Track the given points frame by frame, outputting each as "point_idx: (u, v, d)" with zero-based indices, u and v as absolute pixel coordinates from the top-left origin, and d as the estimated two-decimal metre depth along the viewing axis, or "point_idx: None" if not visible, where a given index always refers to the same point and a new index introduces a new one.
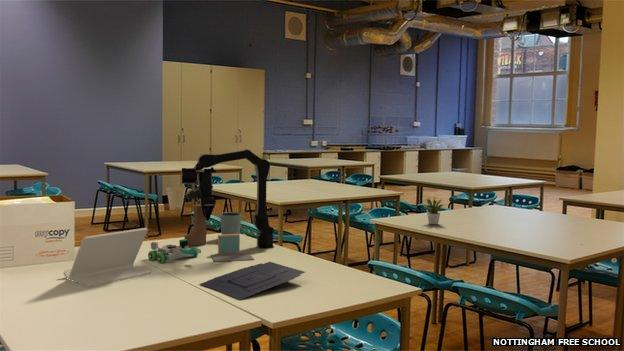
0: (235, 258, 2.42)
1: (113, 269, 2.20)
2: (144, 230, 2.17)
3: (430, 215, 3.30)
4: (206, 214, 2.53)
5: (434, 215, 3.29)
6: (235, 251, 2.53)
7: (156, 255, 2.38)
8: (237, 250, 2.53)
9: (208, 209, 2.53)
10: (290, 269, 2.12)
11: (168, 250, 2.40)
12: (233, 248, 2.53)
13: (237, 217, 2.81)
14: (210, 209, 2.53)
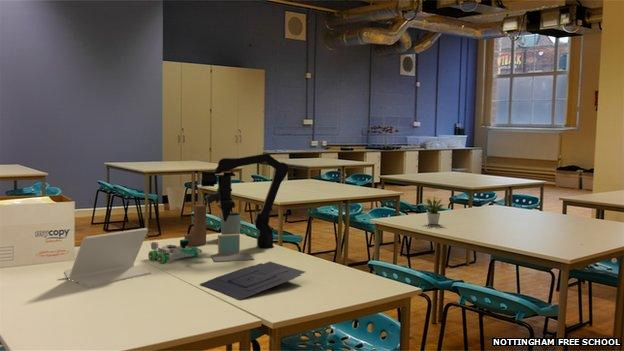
0: (235, 258, 2.42)
1: (113, 269, 2.20)
2: (144, 230, 2.17)
3: (430, 215, 3.30)
4: (224, 215, 2.62)
5: (434, 215, 3.29)
6: (235, 251, 2.53)
7: (156, 255, 2.38)
8: (237, 250, 2.53)
9: (226, 210, 2.61)
10: (290, 269, 2.12)
11: (168, 250, 2.40)
12: (233, 248, 2.53)
13: (237, 217, 2.81)
14: (228, 211, 2.61)
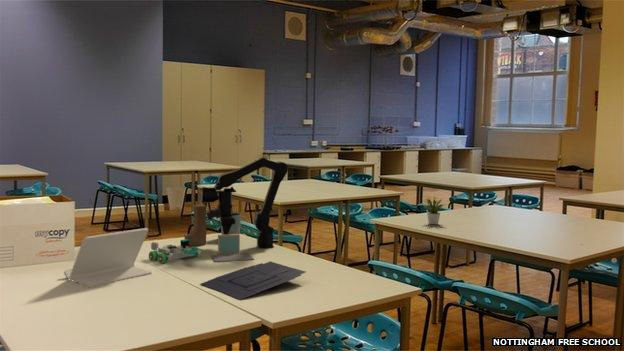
0: (235, 258, 2.42)
1: (114, 269, 2.19)
2: (145, 230, 2.17)
3: (430, 215, 3.30)
4: (224, 231, 2.61)
5: (434, 215, 3.29)
6: (235, 251, 2.53)
7: (157, 255, 2.38)
8: (237, 250, 2.53)
9: (226, 226, 2.61)
10: (291, 269, 2.12)
11: (169, 250, 2.40)
12: (233, 248, 2.53)
13: (237, 217, 2.81)
14: (228, 227, 2.61)
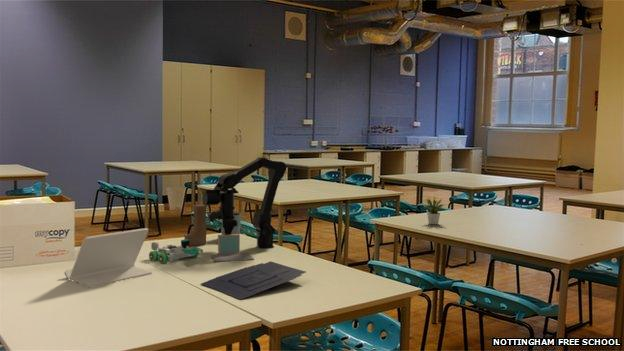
0: (235, 258, 2.42)
1: (114, 269, 2.19)
2: (145, 230, 2.17)
3: (430, 215, 3.30)
4: None
5: (434, 215, 3.29)
6: (235, 251, 2.53)
7: (157, 255, 2.37)
8: (237, 250, 2.53)
9: (228, 229, 2.56)
10: (291, 269, 2.12)
11: (169, 250, 2.40)
12: (233, 248, 2.53)
13: (237, 217, 2.81)
14: (230, 229, 2.55)
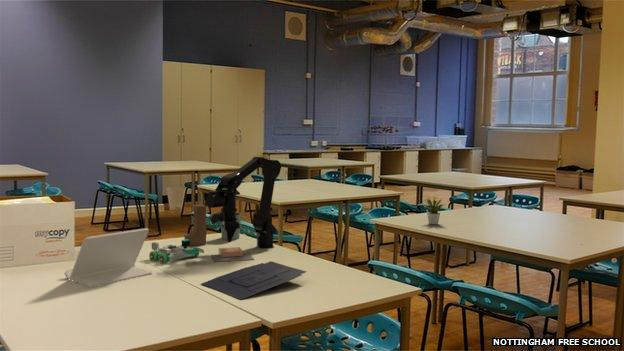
0: (235, 258, 2.42)
1: (114, 269, 2.19)
2: (145, 230, 2.17)
3: (430, 215, 3.30)
4: (228, 236, 2.50)
5: (434, 215, 3.29)
6: None
7: (158, 255, 2.37)
8: None
9: (230, 231, 2.50)
10: (291, 269, 2.12)
11: (169, 250, 2.40)
12: None
13: (237, 217, 2.81)
14: (232, 231, 2.50)
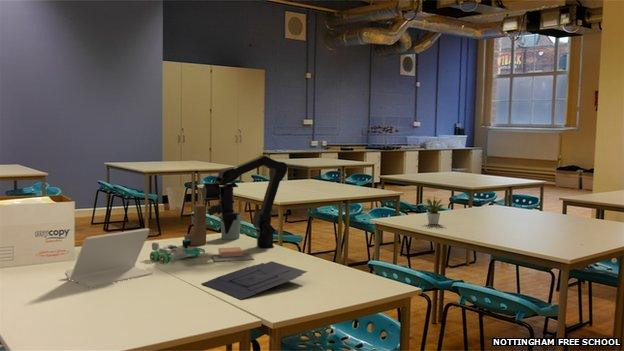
0: (235, 258, 2.42)
1: (115, 270, 2.19)
2: (146, 230, 2.17)
3: (430, 215, 3.30)
4: (225, 227, 2.56)
5: (434, 215, 3.29)
6: None
7: (158, 256, 2.37)
8: None
9: (227, 222, 2.56)
10: (292, 269, 2.12)
11: (170, 250, 2.40)
12: None
13: (237, 217, 2.81)
14: (229, 223, 2.56)
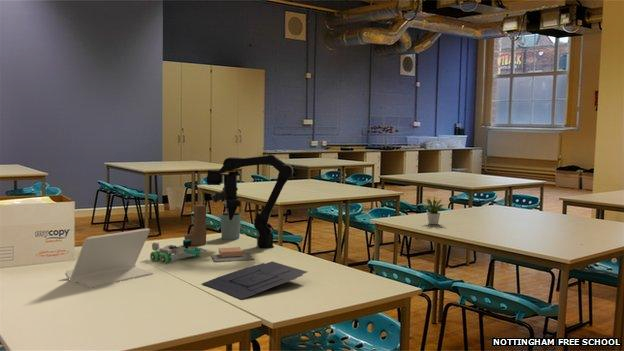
0: (235, 258, 2.42)
1: (115, 270, 2.19)
2: (146, 231, 2.17)
3: (430, 215, 3.30)
4: (229, 214, 2.65)
5: (434, 215, 3.29)
6: None
7: (159, 256, 2.37)
8: None
9: (231, 209, 2.65)
10: (292, 269, 2.12)
11: (170, 250, 2.40)
12: None
13: (237, 217, 2.81)
14: (233, 209, 2.65)
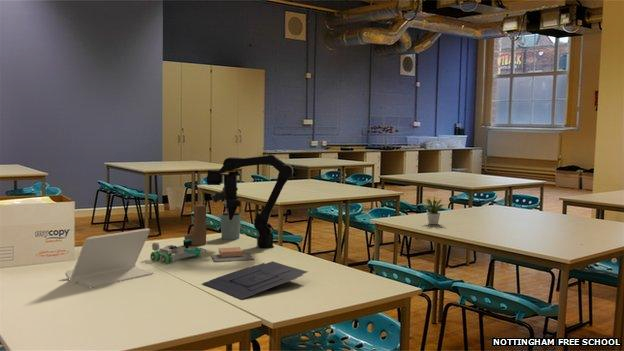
0: (235, 258, 2.42)
1: (115, 270, 2.19)
2: (146, 231, 2.17)
3: (430, 215, 3.30)
4: (229, 214, 2.65)
5: (434, 215, 3.29)
6: None
7: (159, 256, 2.37)
8: None
9: (231, 209, 2.65)
10: (292, 269, 2.12)
11: (170, 250, 2.40)
12: None
13: (237, 217, 2.81)
14: (233, 209, 2.65)
